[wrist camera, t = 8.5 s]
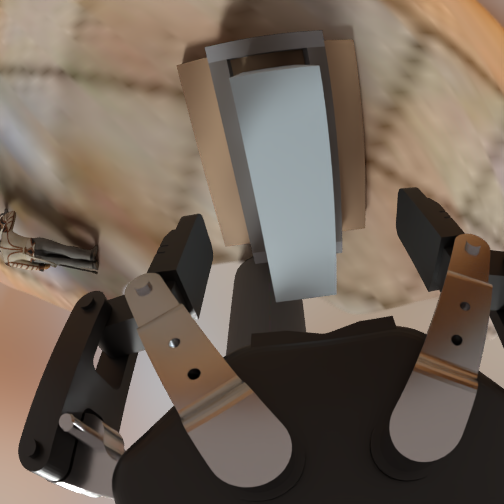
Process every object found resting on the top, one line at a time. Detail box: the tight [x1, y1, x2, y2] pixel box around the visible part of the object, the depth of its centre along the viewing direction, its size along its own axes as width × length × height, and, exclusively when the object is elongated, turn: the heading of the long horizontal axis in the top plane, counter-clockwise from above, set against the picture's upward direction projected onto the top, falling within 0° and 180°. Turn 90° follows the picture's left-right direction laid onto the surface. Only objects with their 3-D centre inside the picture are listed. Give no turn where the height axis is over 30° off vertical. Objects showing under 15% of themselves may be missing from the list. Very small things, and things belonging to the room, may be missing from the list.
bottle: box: [226, 257, 306, 355], centre depth 21 cm, size 6×6×15 cm
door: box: [229, 65, 336, 302], centre depth 15 cm, size 3×11×8 cm, turn 11°
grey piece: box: [177, 30, 365, 264], centre depth 18 cm, size 11×15×3 cm
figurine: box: [0, 209, 98, 274], centre depth 23 cm, size 6×4×15 cm
